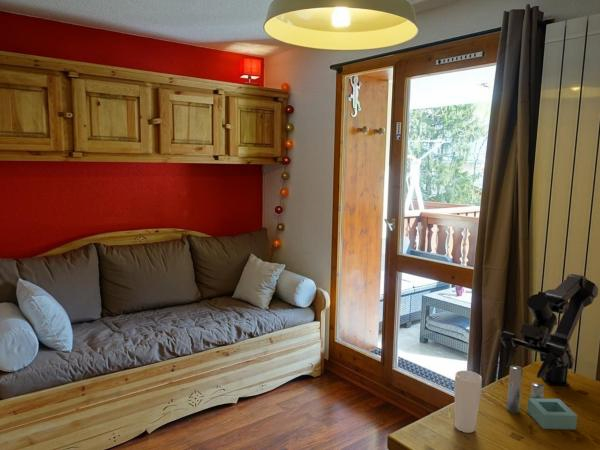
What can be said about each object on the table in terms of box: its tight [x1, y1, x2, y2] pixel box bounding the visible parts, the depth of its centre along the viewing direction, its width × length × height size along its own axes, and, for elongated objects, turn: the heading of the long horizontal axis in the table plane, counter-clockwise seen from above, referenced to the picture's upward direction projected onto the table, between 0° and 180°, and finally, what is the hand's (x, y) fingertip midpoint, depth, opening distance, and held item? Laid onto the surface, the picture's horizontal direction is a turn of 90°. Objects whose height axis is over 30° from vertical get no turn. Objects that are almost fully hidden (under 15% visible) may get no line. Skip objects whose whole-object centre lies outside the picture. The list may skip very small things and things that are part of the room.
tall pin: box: [505, 364, 524, 414], centre depth 137 cm, size 3×3×13 cm
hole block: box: [526, 398, 578, 430], centre depth 132 cm, size 9×9×4 cm
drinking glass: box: [453, 370, 483, 434], centre depth 127 cm, size 7×7×15 cm
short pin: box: [529, 382, 545, 399], centre depth 144 cm, size 3×3×4 cm
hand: (521, 371), depth 138 cm, fingers open, 9 cm apart
